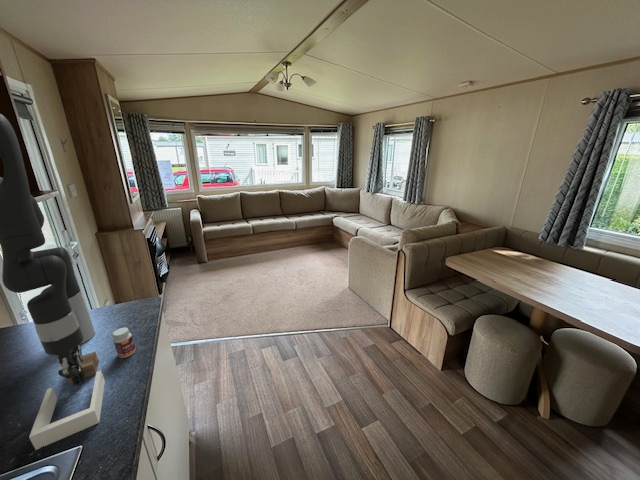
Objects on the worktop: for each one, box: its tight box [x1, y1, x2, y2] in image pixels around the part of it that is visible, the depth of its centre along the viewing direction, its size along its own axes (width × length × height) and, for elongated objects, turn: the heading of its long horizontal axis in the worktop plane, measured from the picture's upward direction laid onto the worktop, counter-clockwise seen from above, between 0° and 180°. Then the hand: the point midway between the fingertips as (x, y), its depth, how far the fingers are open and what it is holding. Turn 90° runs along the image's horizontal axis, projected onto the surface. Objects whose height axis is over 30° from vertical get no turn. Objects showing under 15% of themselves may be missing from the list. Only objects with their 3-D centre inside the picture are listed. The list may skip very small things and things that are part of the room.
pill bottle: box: [112, 327, 136, 359], centre depth 84 cm, size 5×5×8 cm
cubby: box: [29, 369, 106, 451], centre depth 66 cm, size 14×11×4 cm
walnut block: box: [67, 351, 100, 384], centre depth 78 cm, size 6×6×4 cm
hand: (80, 382), depth 74 cm, fingers closed
